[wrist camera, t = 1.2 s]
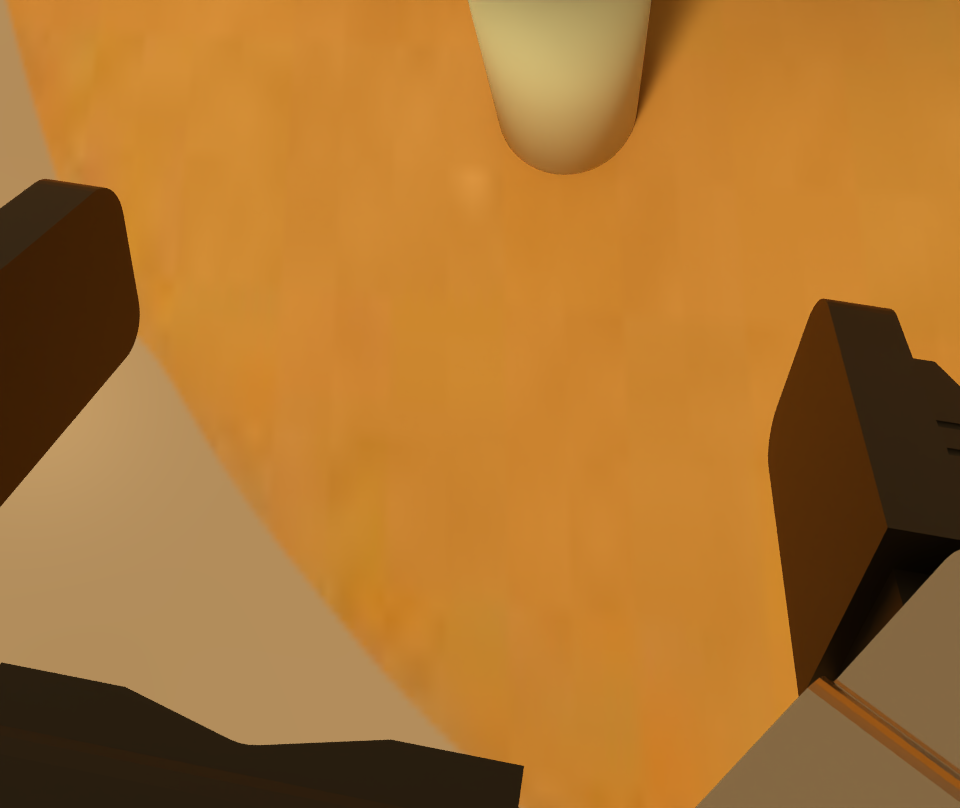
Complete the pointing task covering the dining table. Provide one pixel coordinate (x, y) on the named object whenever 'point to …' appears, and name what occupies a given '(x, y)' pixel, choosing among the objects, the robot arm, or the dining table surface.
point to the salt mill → (563, 76)
